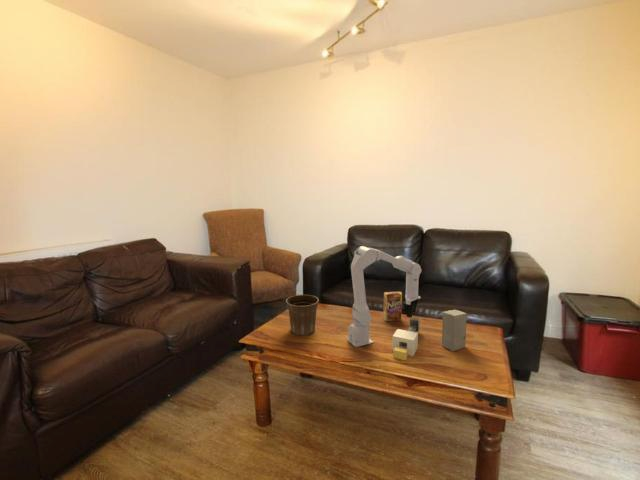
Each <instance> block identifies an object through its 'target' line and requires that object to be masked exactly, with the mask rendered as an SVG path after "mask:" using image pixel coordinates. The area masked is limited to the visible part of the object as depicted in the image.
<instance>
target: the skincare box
mask: <svg viewBox="0 0 640 480" xmlns="http://www.w3.org/2000/svg"><path fill="white" fill-rule="evenodd" d="M441 327H442V328H441V330H442V333H441V334H442V336H441V345H442V347H444V348H447V349H449V350H450V351H452V352H455V351H458V350H460V349H464V348H466V341H467V340H466V339H467V337H466V336H467V312H464V311H461V310H458V309H452V310H450V309H449V310H446V311H443V312H442V325H441Z"/></svg>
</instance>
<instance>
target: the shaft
mask: <svg viewBox="0 0 640 480" xmlns="http://www.w3.org/2000/svg"><path fill="white" fill-rule="evenodd" d="M420 322H421V319H420V318H417V317H413V316H412V317H411V318H410V319H409V327H408V328H407V331H411V332H416V333H419V332H420ZM402 345H404V346H407V343H404V342H402Z"/></svg>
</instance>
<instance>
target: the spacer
mask: <svg viewBox="0 0 640 480" xmlns="http://www.w3.org/2000/svg"><path fill="white" fill-rule="evenodd" d="M407 353H408V349H403V348H399V347H395V349H394V352H393V359H394V358H395V359H399V360H403V361H406V360H407V358H408V355H407Z"/></svg>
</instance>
